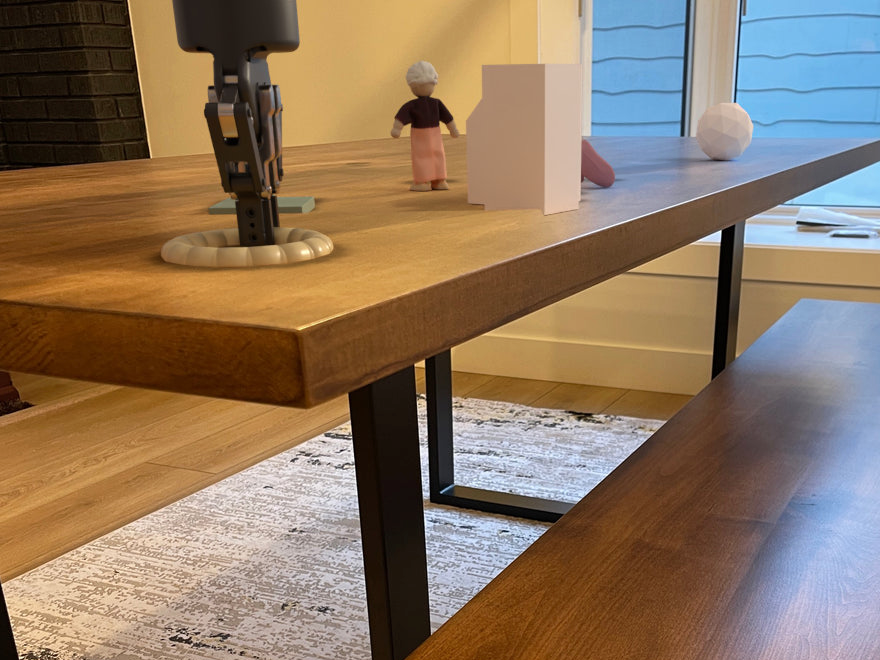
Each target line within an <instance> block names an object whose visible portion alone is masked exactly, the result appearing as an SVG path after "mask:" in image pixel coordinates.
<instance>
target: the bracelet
mask: <svg viewBox="0 0 880 660" xmlns="http://www.w3.org/2000/svg"><path fill="white" fill-rule="evenodd" d="M273 229H274V240H275V244H274V245H270V246H257V247H244V246H240V241H239V232H238V227H236V228H235V227H234V228H221V229H212V230H205V231H204V230H203V231H195V232H191V233H187V234H183V235H178V236H175V237H173V238H172V239H169V240H168V241H166V242H165V243H164V244H163V246H162V247H161V250H160V257H161V258H162V259H163V261H165V262H166V263H171V264H176V265H181V266H191V267H192V266H193V267H209V268H227V267H257V266H268V265H280V264H282V265H283V264H290V263H296V262H302V261H308V260H313V259H316V258H317V259H318V258H320V257H324V256H327V255H329V254H331V253H332V251H333V250H334V244H333V241H332V240H331V238H330V237H329V236H327V235H326V234H324V233H321V232H320V231H317V230H313V229H308V228H307V229H306V228H298V227H281V226H280V227H273ZM230 246H231V247H230ZM234 246H236V247H234ZM237 246H239V247H237Z"/></svg>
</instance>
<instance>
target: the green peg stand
mask: <svg viewBox="0 0 880 660" xmlns="http://www.w3.org/2000/svg"><path fill="white" fill-rule="evenodd" d="M273 196H275V194H273ZM235 201H237V200H232V199H231V197H227V198H225V199H223V200H221V201H219V202H217V203H215V204H213V205H211V206H210V207H208V208H207V210H208V215H209V216H216V215H217V216H220V215H221V216H222V215H224V216H225V215H228V216H230V215H236V206H235ZM277 202H278V212H279V215H280V214H281V215H283V214H285V215H286V214H291V215H292V214H309V213H311V212H312V211H313V210H314V209H315V208H316V203H315V202H316V201H315V196H314V195H313V196H312V195H311V196H309V195H308V196H277Z"/></svg>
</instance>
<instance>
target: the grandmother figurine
mask: <svg viewBox="0 0 880 660" xmlns="http://www.w3.org/2000/svg"><path fill="white" fill-rule="evenodd" d="M438 78H439V74H438V73H437V71H436V69H435V67H434V66H433V64H432V63H430V62H429V61H425V60H419V61H416V62H414V63H413V64H412V65H410V66H409V67H408V68H407V72H406V74H405V80H406V84H407V86H408V87H409V88H410V91H411V93H412V94H413V95H414V96H415V97H416V98H413V99H410V100H408V101H406V102H405V103H404V104H402V105H401V107H400V108H399V109H398V110H397V112H396V114H395V115H394V122H393V125H392V126H393V127H392V129H391V130H390V136H391V138H393V139H399V138H400V137H401V134H402V130H404V127H405V126H408V125H410V129H409V130H410V131H409V137H410V139H409V140H410V155H411V156H410V158H411V169H412V178H413V182H412V183H411V184H410V186H409V190H410V191H415V192H429V191H432V190H449V189H450V185H449V184H448V183H447V181H446V179H448V175H447V174H448V173H447V163H446V162H447V161H446V154H445V153H446V152H445V148H444V142H443V136H442V131H441V130H442V129H441V126H440V122H441V124H444V125H445V128H446V129H447V130H448V131H449V136H450V137H451V138H452V139H457V138H459V137H460V131H459V128H457V124H456V121H455V120H454V116H453V114H451V113H452V112H450V110H449V109H448V108H447V106H446V105H445V104H444V103H443V101H442V100H441V99H440V98H437V97H432V94H433V93H434V91H435V88H436V87H435V86H437V85H438V84H439V82H438ZM428 182H430V185H429V183H428Z"/></svg>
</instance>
